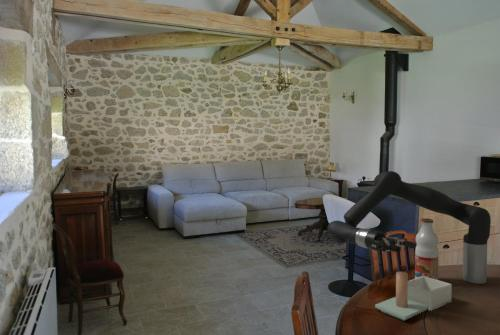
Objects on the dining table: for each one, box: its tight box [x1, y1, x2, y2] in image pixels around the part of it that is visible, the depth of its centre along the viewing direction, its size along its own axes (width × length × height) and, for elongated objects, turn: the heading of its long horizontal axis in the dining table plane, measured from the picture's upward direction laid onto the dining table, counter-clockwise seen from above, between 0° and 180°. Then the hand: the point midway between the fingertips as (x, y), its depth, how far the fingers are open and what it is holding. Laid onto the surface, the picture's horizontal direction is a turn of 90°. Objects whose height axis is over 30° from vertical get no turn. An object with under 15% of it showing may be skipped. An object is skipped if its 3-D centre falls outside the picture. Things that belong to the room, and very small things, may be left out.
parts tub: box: [408, 276, 453, 312], centre depth 150 cm, size 14×12×7 cm
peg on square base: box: [374, 271, 429, 322], centre depth 141 cm, size 14×12×14 cm
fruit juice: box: [414, 218, 439, 280], centre depth 171 cm, size 9×9×28 cm
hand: (407, 247), depth 138 cm, fingers open, 8 cm apart
